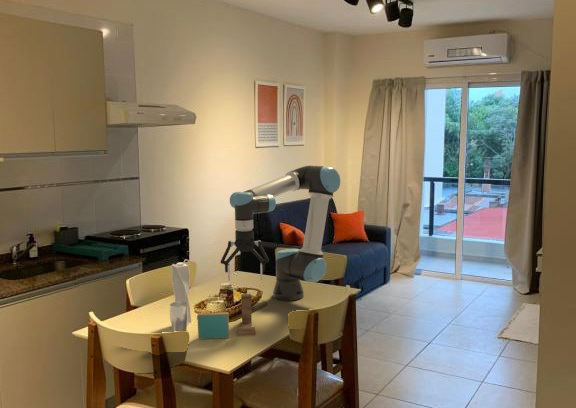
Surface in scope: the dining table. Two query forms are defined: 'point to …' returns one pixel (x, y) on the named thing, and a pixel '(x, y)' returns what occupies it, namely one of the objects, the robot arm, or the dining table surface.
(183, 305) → the beer glass
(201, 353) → the dining table surface
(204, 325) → the tile
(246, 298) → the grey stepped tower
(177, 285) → the skyscraper
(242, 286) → the dining table surface
